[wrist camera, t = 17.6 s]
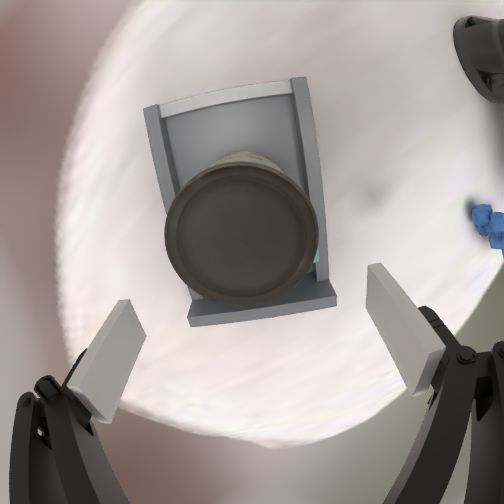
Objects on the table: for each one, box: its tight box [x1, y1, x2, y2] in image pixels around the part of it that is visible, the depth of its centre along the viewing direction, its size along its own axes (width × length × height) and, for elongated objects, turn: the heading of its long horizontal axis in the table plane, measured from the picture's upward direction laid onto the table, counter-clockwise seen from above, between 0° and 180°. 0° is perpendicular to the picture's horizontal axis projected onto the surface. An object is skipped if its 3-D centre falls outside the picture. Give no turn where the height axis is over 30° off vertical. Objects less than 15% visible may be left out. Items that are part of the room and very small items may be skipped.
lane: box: [143, 77, 337, 327], centre depth 28 cm, size 25×17×7 cm
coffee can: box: [164, 151, 319, 307], centre depth 24 cm, size 10×10×14 cm
